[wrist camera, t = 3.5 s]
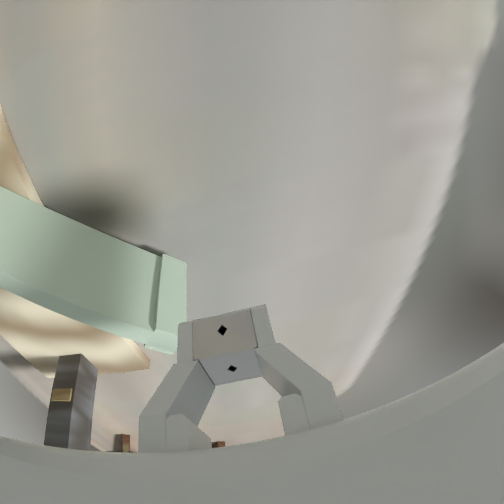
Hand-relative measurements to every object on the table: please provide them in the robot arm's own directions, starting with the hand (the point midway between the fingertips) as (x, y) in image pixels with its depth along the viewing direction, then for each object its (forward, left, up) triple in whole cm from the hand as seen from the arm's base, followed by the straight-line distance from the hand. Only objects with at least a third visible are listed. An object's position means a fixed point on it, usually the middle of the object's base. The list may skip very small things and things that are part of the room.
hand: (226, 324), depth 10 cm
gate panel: (-4, -11, -8) cm, 14 cm away
